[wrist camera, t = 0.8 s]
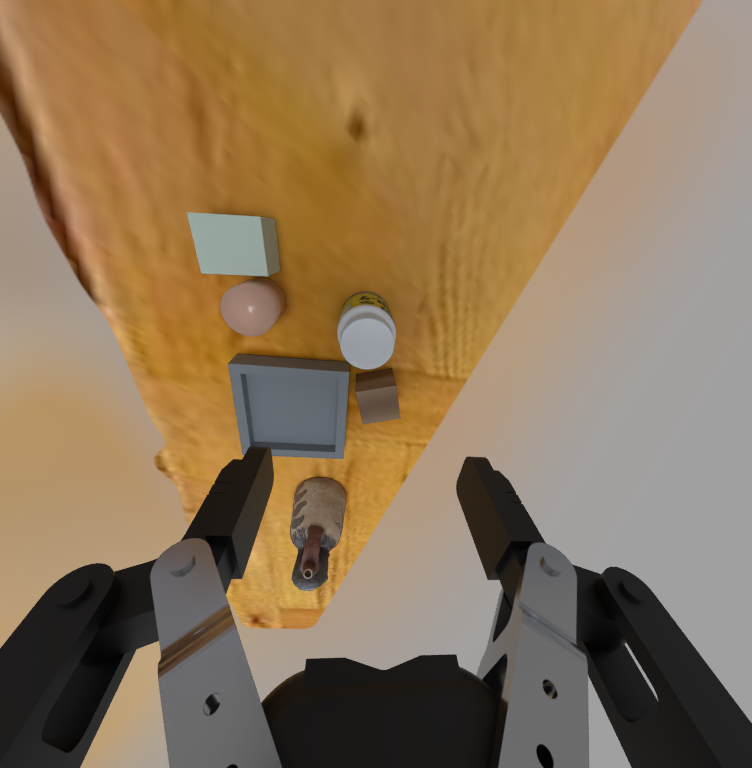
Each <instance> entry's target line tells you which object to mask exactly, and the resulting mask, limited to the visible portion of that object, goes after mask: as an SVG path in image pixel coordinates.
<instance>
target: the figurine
mask: <svg viewBox="0 0 752 768" xmlns="http://www.w3.org/2000/svg"><path fill="white" fill-rule="evenodd" d="M345 507H346V494H345V491H344V489H343V487H342V486H341V485H340V484H339V483H337V482H336V481H334V480H332V479H329V478H322V477H319V478H311V479H308V480H306V481H304V482H302V483H301V484H300V486H299V487H298V488H297V490H296V492H295V496H294V500H293V512H292V520H291V526H290V536H291V540H292V542H293V544H294V545H295V546H296V547H297V548H298V555H297V559H296V563H295V566H294V570H293V573H292V581H293V583H294V585H296V586H297V587H298V588H299V589H300V590H303V591H312V590H314V589H315V588H317V587H319V586H321V585H322V584H323V583H324V582H326V581H327V579H328V575H327V572H328V557H329V555H330V554H329V551H330V550H331V549H333V548H334V547H335V546H336V545H337V544H338V542H339V540H340V537H341V533H342V529H343V521H344V513H345Z"/></svg>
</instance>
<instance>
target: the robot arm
mask: <svg viewBox="0 0 752 768" xmlns="http://www.w3.org/2000/svg"><path fill="white" fill-rule="evenodd" d="M273 480H274V472H273V462H272V452H271V448H270V447H258V446H250V447H249V448H248V449H247V451H246V453H245V455H244V457H243V459H242V460H238V459H233V460H232V461H231V462H230V463H229V464H228V465H226V466H225V467H224V468H223V469H222V470H221V472H220V474H219V475H218V477H217V479H216V481H215V484H213V486H212V488H211V490H210V491H209V495H207V497H206V498H205V500H204V502H203V504H202V505H201V507H200V509H199V511H198V513H197V514H196V516H195V518H194V520H193V521H192V523H191V525H190V527H189V528H188V530H187V532H186V534H185V535H184V537H183V538H182V540H181V541H180V542H178V543H176V544H174V545H172V546H171V547H170V548H168V549H167V550H166V551H164V552H163V553H162V555H160V557H159V558H157V559H155V560H153V561H150V562H147V563H143V564H140V565H136V566H133V567H129V568H126V569H122V570H119V571H115V572H114V571H113V570H112V569H111V567H110V566H108V565H106V564H101V563H100V564H99V563H96V564H90V565H86V566H83V567H81V568H78V569H76V570H74V571H72V572H70V573H69V574H67V575H65V576H64V577H63V578H61V579H59V580H58V581H57V582H56V583H55V584H53V585H52V586H51V587H50V588H49V589H48V590H47V591H46V592H45V594H44V595H43V596H42V597H41V598H40V600H39V601H38V602H37V603H36V604H35V606H34V607H33V608H32V610H31V611H30V612H29V613H28V615H27V616H26V617H25V618H24V620H23V621H22V622H21V623H20V625H19V626H18V627H17V629H16V630H15V631H14V632H13V633H12V635H11V636H10V637H9V638H8V640H7V641H6V642H5V643H4V645H3V646H2V647H1V648H0V768H80V766H81V764H82V762H83V760H84V758H85V756H86V754H87V752H88V750H89V747H90V745H91V743H92V741H93V739H94V737H95V735H96V733H97V731H98V729H99V727H100V724H101V722H102V720H103V718H104V716H105V714H106V712H107V710H108V708H109V706H110V703H111V702H112V699H113V697H114V695H115V693H116V691H117V689H118V687H119V685H120V683H121V681H122V678H123V676H124V674H125V672H126V670H127V668H128V666H129V664H130V662H131V660H132V657H133V655H134V653H135V651H136V649H138V648H141V647H143V646H146V645H149V644H151V643H154V642H157V641H159V643H160V651H161V660H160V661H159V663H158V681H159V689H160V697H161V705H162V712H163V720H164V728H165V735H166V743H167V751H168V758H169V766H170V768H589V731H588V729H589V725H588V675H589V678H590V680H591V682H592V684H593V686H594V688H595V690H596V692H597V694H598V697H599V699H600V701H601V703H602V705H603V707H604V709H605V711H606V714H607V716H608V718H609V720H610V722H611V724H612V726H613V729H614V731H615V733H616V735H617V737H618V739H619V741H620V743H621V746H622V748H623V750H624V752H625V754H626V756H627V758H628V761H629V763H630V765H631V767H632V768H752V723H751V722H750V721H749V719H748V718H747V717H746V715H745V714H744V713H743V711H742V710H741V709H740V707H739V706H738V705H737V703H736V702H735V701H734V699H733V698H732V697H731V695H729V693H728V691H727V690H726V689H725V687H724V686H723V685H722V683H721V682H720V681H719V680H718V678H717V677H716V676H715V674H714V673H713V672H712V670H711V669H710V668H709V666H708V665H707V664H706V662H705V661H704V660H703V658H702V657H701V656H700V654H699V653H698V652H697V650H696V649H695V648H694V646H693V645H692V644H691V642H690V641H689V640H688V639H687V637H686V636H685V634H684V633H683V632H682V630H681V629H680V628H679V626H678V625H677V624H676V622H675V621H674V620H673V618H672V617H671V616H670V614H669V613H668V612H667V611H666V609H665V608H664V607H663V605H662V604H661V602H660V601H659V600H658V599H657V597H656V596H655V595H654V593H653V592H652V591H651V590H650V589H649V587H648V586H647V585H646V584H645V583H644V582H642V581H641V580H640V579H639V578H637V577H636V576H635V575H633V574H631V573H630V572H628V571H626V570H624V569H621V568H618V567H609V568H607V569H606V570H605V571H604V572H603V573H602V574H598V573H596V572H593V571H590V570H587V569H584V568H581V567H578V566H575V565H572V564H571V562H570V561H569V560H568V559H567V558H566V556H565V555H563V554H562V553H561V552H560V551H559V550H557V549H556V548H554V547H552V546H550V545H548V544H546V543H545V541H544V539H543V538H542V536H541V534H540V533H539V531H538V529H537V528H536V526H535V524H534V523H533V521H532V519H531V517H530V516H529V514H528V512H527V511H526V509H525V507H524V505H523V504H521V500H520V499H519V497H518V495H516V492H515V490H514V488H513V487H512V485H511V483H510V482H509V480H507V478H505V477H504V476H503V475H502V474H501V473H500V472H499V471H494V470H493V468H492V466H491V464H490V463H489V461H488V459H487V458H485V457H466V459H465V461H464V464H463V466H462V469H461V472H460V474H459V477H458V480H457V485H456V490H457V496H458V499H459V502H460V504H461V507H462V510H463V512H464V515H465V518H466V521H467V523H468V526H469V529H470V532H471V534H472V537H473V540H474V543H475V545H476V548H477V551H478V554H479V556H480V559H481V562H482V565H483V568H484V570H485V573H486V576H487V579H488V580H500V582H501V585H502V587H503V588H502V590H501V592H500V595H499V599H498V604H497V608H496V612H495V616H494V620H493V625H492V628H491V633H490V637H489V641H488V645H487V648H486V651H485V653H484V655H483V658H482V660H481V662H480V666H479V668H478V672H477V675H476V676H475V675H474V674H472V673H471V672H469V671H467V670H465V669H463V668H461V667H459V665H458V661H457V656H456V655H422V656H418V657H416V658H414V659H412V660H409V661H407V662H404V663H402V664H400V665H397V666H395V667H392V668H390V669H388V670H379V669H377V668H373V667H371V666H368V665H365V664H362V663H359V662H356V661H353V660H350V659H347V658H320V659H306V666H305V670H304V671H301V672H299V673H297V674H295V675H293V676H291V677H290V678H288V679H286V680H285V681H284V682H282V683H281V684H280V685H278V686H277V687H276V688H275V689H274V690H273V691H272V692H271V693H270V694H269V695H268V696H267V697H266V698H265V699H264V700H263V702H262V703H261V702H260V698H259V696H258V692H257V689H256V686H255V683H254V680H253V677H252V674H251V671H250V668H249V665H248V662H247V659H246V656H245V652H244V649H243V646H242V643H241V640H240V637H239V634H238V631H237V628H236V625H235V622H234V619H233V616H232V613H231V610H230V607H229V604H228V600H227V597H226V593H227V590H228V587H229V584H230V582H231V579H242V577H243V574H244V571H245V568H246V565H247V562H248V559H249V556H250V553H251V550H252V547H253V544H254V541H255V538H256V535H257V532H258V529H259V526H260V523H261V520H262V517H263V514H264V511H265V508H266V505H267V502H268V499H269V496H270V493H271V490H272V486H273ZM625 643H627V644H628V646H629V647H630V649H631V650H632V652H633V654H634V656H635V657H636V659H637V661H638V662H639V664H640V665H641V667H642V669H643V671H644V672H645V674H646V676H647V677H648V679H649V681H650V682H651V684H652V686H653V688H654V689H655V692H656V694H657V697H658V701H657V699H656V698H655V696H654V694H653V692H652V690H651V689H650V687H649V685H648V684H647V682H646V680H645V679H644V677H643V675H642V673H641V672H640V670H639V668H638V667H637V665H636V663H635V662H634V660H633V658H632V656H631V655H630V653H629V651H628V650H627V648H626V646H625V645H624V644H625Z"/></svg>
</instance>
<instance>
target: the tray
mask: <svg viewBox="0 0 752 768" xmlns="http://www.w3.org/2000/svg"><path fill="white" fill-rule="evenodd" d="M228 367H229V373H230V379H231V385H232V392H233V398H234V404H235V410H236V417H237V423H238V429H239V435H240V441H241V448H242V454H243V455H245V453H246V451H247V449H248V448H249V447H250V446H258V447H270V448H271V452H272V456H286V457H310V458H334V459H343V457H344V442H345V428H346V414H347V399H348V385H349V370H350V363H349V362H338V361H325V360H312V359H299V358H286V357H273V356H260V355H247V354H237V355H236V356H235V357H234V358H233V359H232V360H231V361H230V362H229V363H228Z"/></svg>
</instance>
